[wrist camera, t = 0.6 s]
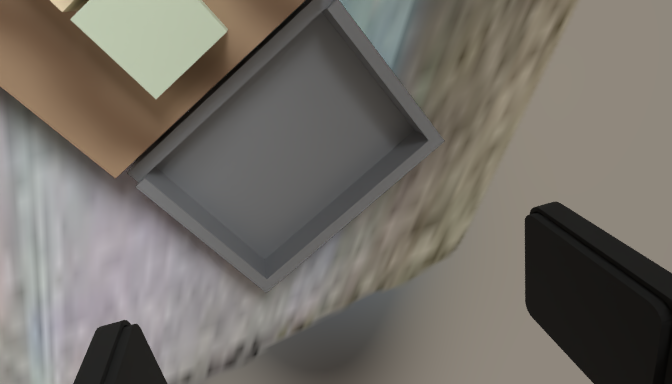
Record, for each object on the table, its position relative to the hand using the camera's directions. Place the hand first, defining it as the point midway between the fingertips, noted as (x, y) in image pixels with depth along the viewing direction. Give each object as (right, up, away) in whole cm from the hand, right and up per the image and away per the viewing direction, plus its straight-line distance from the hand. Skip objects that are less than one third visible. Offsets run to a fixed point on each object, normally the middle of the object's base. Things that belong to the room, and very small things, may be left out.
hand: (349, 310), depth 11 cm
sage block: (-12, +14, +18) cm, 25 cm away
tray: (-4, +7, +28) cm, 29 cm away
